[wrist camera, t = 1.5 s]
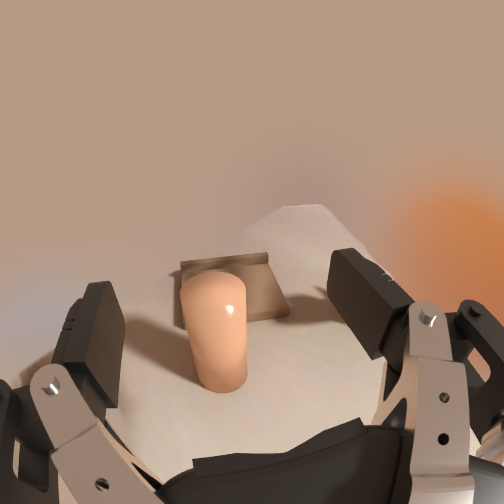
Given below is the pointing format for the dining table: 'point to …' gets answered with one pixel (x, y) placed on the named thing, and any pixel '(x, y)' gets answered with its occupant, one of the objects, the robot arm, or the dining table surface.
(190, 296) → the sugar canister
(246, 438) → the dining table surface
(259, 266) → the walnut board
